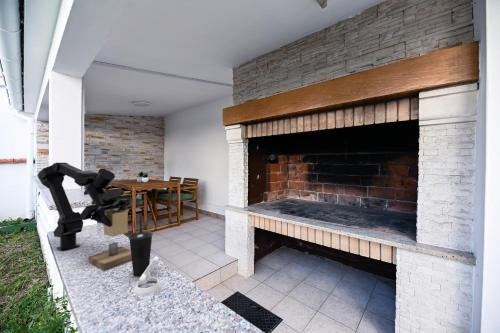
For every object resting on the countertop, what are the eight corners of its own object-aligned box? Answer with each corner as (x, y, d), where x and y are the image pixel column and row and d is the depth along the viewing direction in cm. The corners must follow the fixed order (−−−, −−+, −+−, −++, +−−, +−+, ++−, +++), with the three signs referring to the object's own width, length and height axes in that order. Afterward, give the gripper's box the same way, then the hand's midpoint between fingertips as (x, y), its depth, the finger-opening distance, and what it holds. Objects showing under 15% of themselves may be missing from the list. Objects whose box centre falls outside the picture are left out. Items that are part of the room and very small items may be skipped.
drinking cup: (158, 270, 78) (157, 214, 78) (141, 280, 71) (140, 219, 70) (141, 266, 80) (140, 213, 80) (123, 277, 73) (122, 218, 73)
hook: (170, 278, 63) (148, 267, 61) (148, 307, 64) (126, 297, 63) (176, 261, 70) (157, 251, 68) (156, 288, 71) (137, 278, 70)
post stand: (89, 262, 84) (88, 246, 84) (121, 252, 94) (120, 237, 94) (104, 270, 77) (103, 252, 77) (136, 258, 88) (136, 242, 87)
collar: (104, 234, 88) (103, 212, 88) (118, 230, 93) (118, 209, 93) (113, 236, 85) (113, 214, 85) (127, 232, 91) (127, 211, 91)
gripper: (85, 184, 81) (106, 216, 78) (128, 181, 99) (147, 206, 96) (71, 204, 84) (91, 235, 81) (115, 197, 102) (133, 222, 98)
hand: (118, 224), depth 89 cm, fingers closed on collar, 6 cm apart
